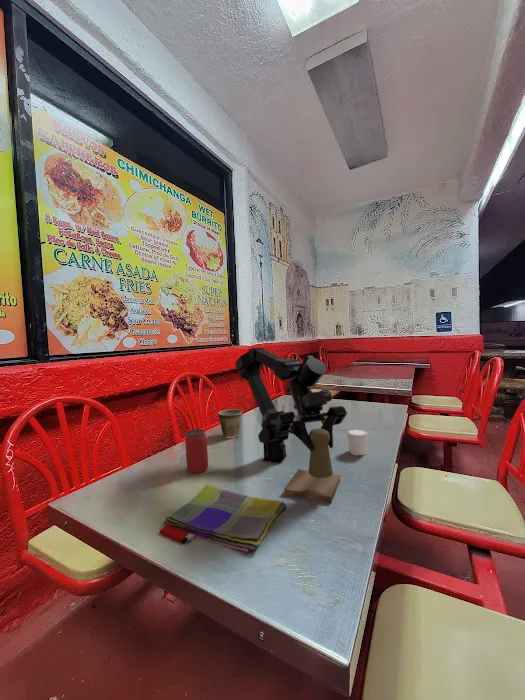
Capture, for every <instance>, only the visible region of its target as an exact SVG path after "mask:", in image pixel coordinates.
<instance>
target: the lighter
mask: <svg viewBox="0 0 525 700" xmlns="http://www.w3.org/2000/svg"><path fill="white" fill-rule="evenodd" d="M158 534H159V535H160V534H162V535H161V536H163V535H164V536H163V537H165V536H166V537H165V538H167V537H168V538H167V539H169V538H170V540H172V541H174V542H177V543H179V544H182V545H185V544H186V543H187V542H188V543H189V544H190V543H191V542H192V541H193V540H194V539H196V538H197V536H195V535H193V534H191V533H188V532H186V531H183V530H181V529H178V528H176V527H173V526H171V525H169V524H166V525H164V526H162V527H161V528H160V529H159V532H158Z"/></svg>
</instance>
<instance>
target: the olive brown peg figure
mask: <svg viewBox="0 0 525 700" xmlns="http://www.w3.org/2000/svg"><path fill="white" fill-rule="evenodd" d="M308 435H309V437H310V440H311V442H312V445H313V451H310V452H309V453H310V454H309V463H308V464H309V465H308V471H309V474H310V475H311V476H313V477H316V478H328V477H330V476H332V474H334V473H333V466H332V461H331V454H330V447H329V445H328V442H329V440H330V435H329V432H328V431H327V430H325V429H321V428H313V429H311V430H310V431H309V433H308Z"/></svg>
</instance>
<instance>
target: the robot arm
mask: <svg viewBox="0 0 525 700" xmlns="http://www.w3.org/2000/svg"><path fill="white" fill-rule="evenodd" d="M262 365H263V366H266V367H267V368H269V369H270V370H271V371H273V374H274V376H275V377H276V378H277V379H279V380H280V381H288V380H289V381H290V382H288V385H287V387H286V389H285V392H287V393H290V394H291V397H292V400H293V403H294V404H293V408H294V410H296V412H297V414H295V413H294V412H293V411H286V412H284V411H283V410H281V411H280V410H277V409H276V407H275V404H274V403H273V400H272V398H271V396H270V394H269V392H268V390H267V388H266V386H265V383H264V381H263V379H262V376H261V369H262V367H261V366H262ZM235 368H236V371H237V372H238V374H239V376H240V377H241V378H243V380H245V381H246V382H247V383H248V386H249V388H250V391H251V393H252V395H253V397H254V400H255V402H256V404H257V407H258V409H259V411H260V413H261V416H262V419H261V430H260V432H259V433H258V435H257V437H258V441H259V443H262V445H263V458H261V461H262V462H267V463H273V464H281V463H282V462H283V461H284V459H286V458H287V450H286V448H287V445H286V444H285V441H287V440H289V434H293V435H294V436H295V437H297V438H298V440H300V441H301V443H303V445H305V446H306V448H307V449H308V450H309V451H310V452H311V451H313V445H312V442H311V440H310V437H309V433H308V430H307V426H306V424H307V423H314V422H321V425H322V426H320V429H325V430H327V431H328V432H329V435H330V440H329V442H328V447H329V449H333V447H334V436H333V434H334V433H333V432H334V431H333V429H334V426H338V425H340V424H342V422H343V421H344V420H345V418H346V417H347V415H348V412H347V409H346V408H345V407H344V406H342V405H337V406H330V407H329V408H328V410H327V411H326V412H321V411H323V410H324V407H323V406H324V405H327V404H328V403H329V402H331V401H332V400H333V396H332V393H331V391H330V389H329V388H323V389H321V390H320V391H314V392H313V391H312V389H311V387H314V386H316V385H317V384H318V382H319V381H320V379H321V378H322V377H323V376H324V375H325V373H326V372H327V367H326V365H325V363H324V362H322V361H321V360H319V359H317V358H315V357H314V356H313V355H306V356H305V357H304V359H303V361H302V362H301V361H300V360H298V359H294V358H287V357H281V356H279V355H277V354H275V353H273V352H271V351H268V350H266V349H265V348H264V347H262V346H259V347H252V348H250V349H249V350H248V351H247V352H245V353H244V354H242V355H240V356H239V357H238V359H237V360H236V361H235Z"/></svg>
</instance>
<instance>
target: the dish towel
mask: <svg viewBox="0 0 525 700" xmlns="http://www.w3.org/2000/svg"><path fill="white" fill-rule="evenodd" d="M287 508H288V507H287V504H286V503H285V502H284V500H283V501H282V500H275V499H267V498H260V497H255V496H250V495H244V494H241V493H237V492H234V491H230V490H225V489H222V488H219V487H217V486H213V485H210V484H208V483H207V484H205V485H204V486H203V487H202V489H201V490H200V491H199V492H198V493H197V494H196V495H195V496H194V497H193V498H192V499H191V500H189V502H187V503H185V504H184V505H182V506H181V507H180V508H179V509H177V510H176V511H174V512H173V513H171V514H169V515H167V516H166V517H165V518H164V519H165V520H164V521H162V523H163V522H165V523H167V524H166V525H168V524H169V525H171V526H173V527H176V528H178V529H181V530H183V531H186V532H188V533H191V534H193V535H195V536H196V538H200V539H202V540H205V541H208V542H211V543H213V544H217V545H220V546H223V547H225V548H228V549H232V550H235V551H238V552H244V553H248V554H249V553H250V552H251V551H254V550H256V549H257V547H259V546H260V545H261V544H262V541H263V540H264V538H265V536H266V534H267V533H268V532H269V531H270V529H272V527H273V526H274V525H275V524H276V523H277V522H278V520H279V519H280V518H281V517H282V516H283V515H284V513H285V512H286V510H288V509H287ZM165 523H164V524H165Z"/></svg>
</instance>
